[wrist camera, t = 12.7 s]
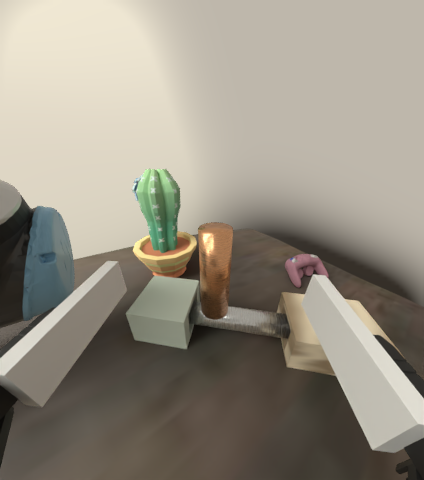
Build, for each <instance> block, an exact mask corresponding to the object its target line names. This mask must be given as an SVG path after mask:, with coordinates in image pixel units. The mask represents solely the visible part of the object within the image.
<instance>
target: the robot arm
mask: <svg viewBox="0 0 424 480" xmlns="http://www.w3.org/2000/svg"><path fill="white" fill-rule="evenodd" d="M73 288H74V262H73V255H72V249H71V244H70V240H69V235H68V232H67V229H66V226H65V223H64V221H63V219H62V217H61V215H60V214H59V213H58V212H57V210H55V209H54V208H49V207H43V206H38V207H36V208H33V209H31V208H30V207H29V206H28V205H27V203H26V202H25V200H24V199H23V198H22V196H21V195H20V193H19V192H18V190H17V189H16V188H15V187H13V186H12V185H10V184H9V183H6V182H4V181H1V180H0V328H2V327H5V326H8V325H12V324H15V323H18V322H21V321H27V320H30V319H32V318H33V317H34V316H36V315H39V314H41V315H40V316H39V317H37V318H36V319H35V320H34V321H33V322H32V323H30V324H29V326H28V327H26V328H25V329H24V330H22V331H21V332H20V333H19V335H18V336H16V337H14V338H13V339H12V340H11V341H10V342H9V343H7V344H6V345H5V346H4V347H3V348H2V349H1V350H0V467H1V463H2V459H3V455H4V450H5V446H6V442H7V438H8V434H9V430H10V426H11V422H12V418H13V414H14V408H13V407H12V406H13V405H14V404H15V402H16V401H17V400H19V401H21V402H22V403H23V404H24V405H27V406H34V407H43V406H44V405H45V403H46V402H47V400H48V399H49V398H50V396H51V395H52V394H53V392H54V391H55V389H56V388H57V387H58V385H59V384H60V383H61V381H62V380H63V378H64V377H65V376H66V374H67V373H68V372H69V370H70V369H71V367H72V366H73V365H74V363H75V362H76V360H77V359H78V358H79V356H80V355H81V354H82V352H83V351H84V349H85V348H86V347H87V345H88V344H89V343H90V341H91V340H92V338H93V337H94V336H95V334H96V333H97V331H98V330H99V329H100V327H101V326H102V325H103V323H104V322H105V320H106V319H107V318H108V316H109V315H110V314H111V312H112V311H113V309H114V308H115V307H116V305H117V304H118V303H119V301H120V300H121V298H122V297H123V296H124V294H125V293H126V291H127V289H126V285H125V282H124V279H123V276H122V272H121V269H120V266H119V263H118V262H117V261H107V262H106V263H105V264H104V265H103V266H101V267H100V268H99V269H98V270H97V271H96V272H95V273H94V274H93V275H92V276H90V277H89V278H88V279H87V280H86V281H85V282H84V283H83V284H82V285H81V286H79V287H78V288H77V289H76V290H75V291H74V292H73ZM72 292H73V293H72ZM301 305H302V307H303V309H304V311H305V313H306V315H307V317H308V319H309V321H310V323H311V325H312V327H313V329H314V331H315V333H316V335H317V338H318V340H319V342H320V344H321V346H322V348H323V350H324V352H325V354H326V356H327V358H328V360H329V362H330V364H331V366H332V368H333V370H334V372H335V374H336V377H337V379H338V381H339V383H340V385H341V387H342V389H343V391H344V393H345V395H346V397H347V399H348V401H349V403H350V405H351V407H352V409H353V411H354V413H355V415H356V418H357V420H358V422H359V424H360V426H361V428H362V430H363V432H364V434H365V436H366V438H367V440H368V442H369V444H370V446H371V448H372V450H376V451H384V452H392V453H395V452H397V451H399V450H401V449H403V448H404V449H405V450H406V452H407V454H408V455H409V457H410V459H409V460H406V461H404V462H402V463H399V464H397V467H396V471H397V472H398V473H399V474H402V473H404V472H407V471H408V477H407V478H406V480H424V380H423V379H422V378H421V377H420V376H419V375H417V374H416V371H415V370H414V369H413V368H412V367H411V365H410V364H409V363H407V362H406V360H405V358H404V357H403V356H402V355H401V354H400V353H399V351H398V350H397V349H396V348H395V347H394V346H393V345H392V344H390V343H389V342H388V341H387V340H386V339H384V338H383V337H382V336H381V335H373V334H372V333H371V332H370V331H369V329H368V328H367V327H366V326H365V324H364V323H363V322H362V321H361V319H360V318H359V317H358V316H357V314H356V313H355V312H354V311H353V309H352V308H351V307H350V306H349V304H348V303H347V302H346V301H345V299H344V298H343V297H342V296H341V294H340V293H339V292H338V291H337V289H336V288H335V287H334V286H333V284H332V283H331V282H330V281H329V279H328V278H327V277H326V276H325V275H314V274H313V276H312V278H311V281H310V283H309V286H308V288H307V291H306V293H305V296H304V298H303V301H302V303H301ZM42 313H43V314H42Z"/></svg>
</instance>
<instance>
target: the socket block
mask: <svg viewBox="0 0 424 480" xmlns="http://www.w3.org/2000/svg"><path fill="white" fill-rule="evenodd" d="M193 301H196V302H200V292H199V281H198V280H190V279H181V278H173V277H164V276H155V275H154V277H153V278H152V279H151V281H150V282H149V283H148V285H147V286H146V287H145V289H144V290H143V291H142V293H141V294H140V295H139V297H138V298H137V299H136V301H135V302H134V303H133V305H132V306H131V307H130V309H129V310H128V311H127V312H126V316H127V319H128V322H129V325H130V328H131V331H132V334H133V337H134V340H138V341H143V342H148V343H154V344H159V345H165V346H170V347H176V348H181V349H187V347H188V344H189V340H190V337H191V334H192V330H193V327H194V324H189V319H188V315H189V313H190V310H191V307H192V304H193Z"/></svg>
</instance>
